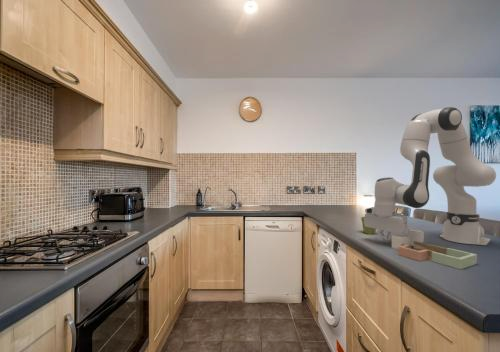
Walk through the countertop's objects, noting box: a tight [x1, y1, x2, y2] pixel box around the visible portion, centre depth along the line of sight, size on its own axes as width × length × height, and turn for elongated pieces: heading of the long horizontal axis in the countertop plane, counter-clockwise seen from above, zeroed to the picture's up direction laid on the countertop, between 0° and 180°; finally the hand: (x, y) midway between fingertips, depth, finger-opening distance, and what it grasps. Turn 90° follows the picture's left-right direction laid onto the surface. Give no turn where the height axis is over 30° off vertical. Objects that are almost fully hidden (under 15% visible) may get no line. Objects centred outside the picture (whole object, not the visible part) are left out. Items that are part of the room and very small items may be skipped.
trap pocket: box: [397, 245, 428, 262], centre depth 97 cm, size 5×8×4 cm, turn 27°
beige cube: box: [406, 228, 425, 247], centre depth 115 cm, size 7×7×7 cm
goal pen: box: [430, 247, 478, 270], centre depth 92 cm, size 12×9×4 cm
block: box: [391, 234, 410, 250], centre depth 109 cm, size 5×5×6 cm
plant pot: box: [360, 216, 377, 235], centre depth 139 cm, size 9×9×9 cm
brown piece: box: [401, 241, 447, 261], centre depth 101 cm, size 10×12×4 cm
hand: (384, 239), depth 116 cm, fingers closed
